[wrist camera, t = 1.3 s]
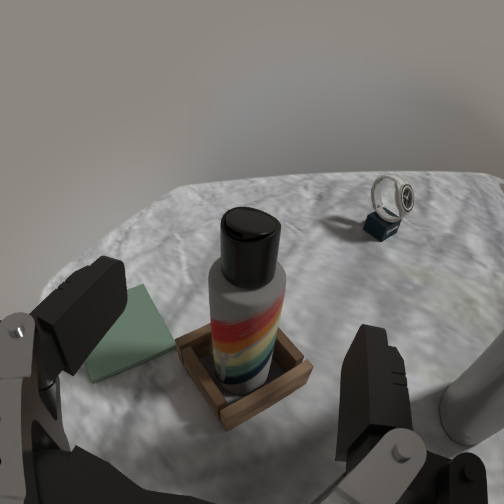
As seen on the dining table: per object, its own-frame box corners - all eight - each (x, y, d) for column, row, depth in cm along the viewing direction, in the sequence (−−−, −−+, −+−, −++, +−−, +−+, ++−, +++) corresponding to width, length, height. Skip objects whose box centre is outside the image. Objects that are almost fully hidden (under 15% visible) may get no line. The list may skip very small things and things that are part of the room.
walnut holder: (253, 323, 38) (255, 301, 35) (305, 383, 32) (313, 366, 29) (179, 358, 33) (174, 339, 31) (226, 431, 27) (226, 419, 24)
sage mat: (144, 286, 41) (143, 283, 41) (177, 347, 34) (177, 344, 34) (72, 315, 36) (70, 312, 36) (93, 383, 29) (91, 380, 29)
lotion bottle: (204, 372, 32) (186, 216, 19) (240, 342, 35) (249, 185, 22) (242, 406, 29) (254, 261, 16) (278, 372, 33) (314, 219, 20)
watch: (389, 248, 51) (410, 193, 43) (355, 224, 55) (370, 170, 48) (405, 237, 53) (424, 186, 46) (372, 215, 58) (387, 165, 51)
